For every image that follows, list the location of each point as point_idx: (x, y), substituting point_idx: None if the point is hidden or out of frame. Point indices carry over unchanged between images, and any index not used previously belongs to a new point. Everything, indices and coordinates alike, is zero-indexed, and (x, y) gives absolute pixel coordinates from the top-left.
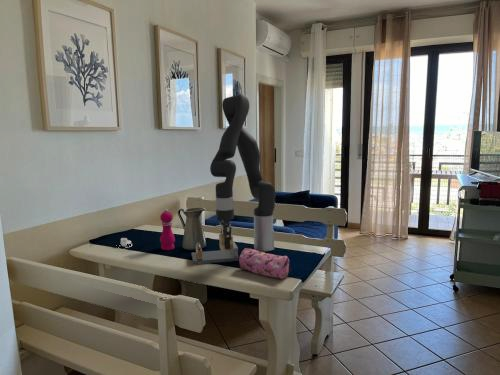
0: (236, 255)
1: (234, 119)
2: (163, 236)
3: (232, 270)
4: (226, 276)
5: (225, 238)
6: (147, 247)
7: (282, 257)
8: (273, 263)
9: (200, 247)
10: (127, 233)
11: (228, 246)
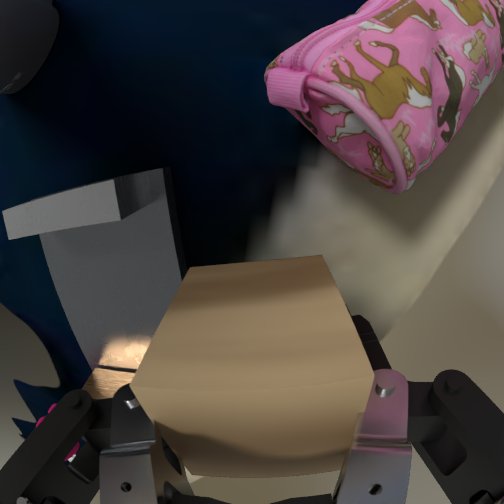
0: (144, 184)
1: None
2: (68, 458)
3: (343, 221)
4: (414, 262)
5: (448, 434)
6: (80, 444)
7: None
8: None
9: None
10: (26, 436)
11: (369, 334)
